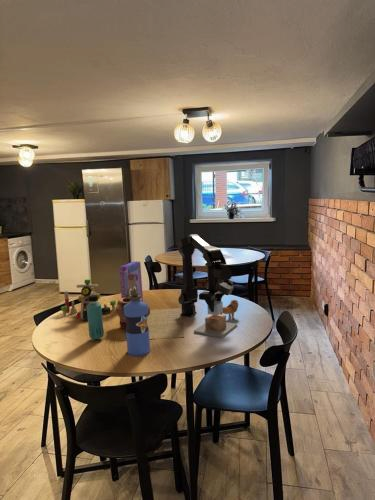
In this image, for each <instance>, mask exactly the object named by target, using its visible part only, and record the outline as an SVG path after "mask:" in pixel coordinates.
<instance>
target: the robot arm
mask: <svg viewBox="0 0 375 500" xmlns="http://www.w3.org/2000/svg"><path fill="white" fill-rule="evenodd" d="M177 248H178V253H179V254H180V255H181V257H182V259H181V260H182V274H183V275H182V277H183V284H182V285H183V286H182V287H181V289H180V294H179V297H178V299H177V301H178V304H179V305H181V313H180V316H184V317H192V316H194V315H195V314H197V311H196V303H198V301H199V300H200V301H204V302H205V304H206V305H207V308H208V307H209V309H210V311H211V312H214V303H215V301H222V298H223V297H224V296H229V295H231V294H232V292H233V290H234V289H235V287H234V282H233V281H231V279H232V276H233V271H232V269H231V268H230V267H229V264H227V260H226V258H225V257H224V254H223V252H222V250H221V249H220V248H219V247H216V246H213V245H210V244H209V243H208V242H206V241H205V240H204V239H202V238H201V237H200V235H199V234H197V233H196V234H195V233H194V234H189V235H187V236H185V237H183V238H182V239H179V241H177ZM196 249H197V250H198V251H199V252H200V253H201V254H202V258H203V260H204V261H206V263H205V264H204V266H205V267H206V268H207V269H206V270H207V271H206V272H207V273H206V274H207V279H205V282H206V283H207V288H205V291H202V292H200V293H199V291H198V287H196V286H195V284H194V272H193V270H194V269H193V254H194V253H195V250H196ZM224 281H225V282H224ZM227 281H228V282H227Z"/></svg>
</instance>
